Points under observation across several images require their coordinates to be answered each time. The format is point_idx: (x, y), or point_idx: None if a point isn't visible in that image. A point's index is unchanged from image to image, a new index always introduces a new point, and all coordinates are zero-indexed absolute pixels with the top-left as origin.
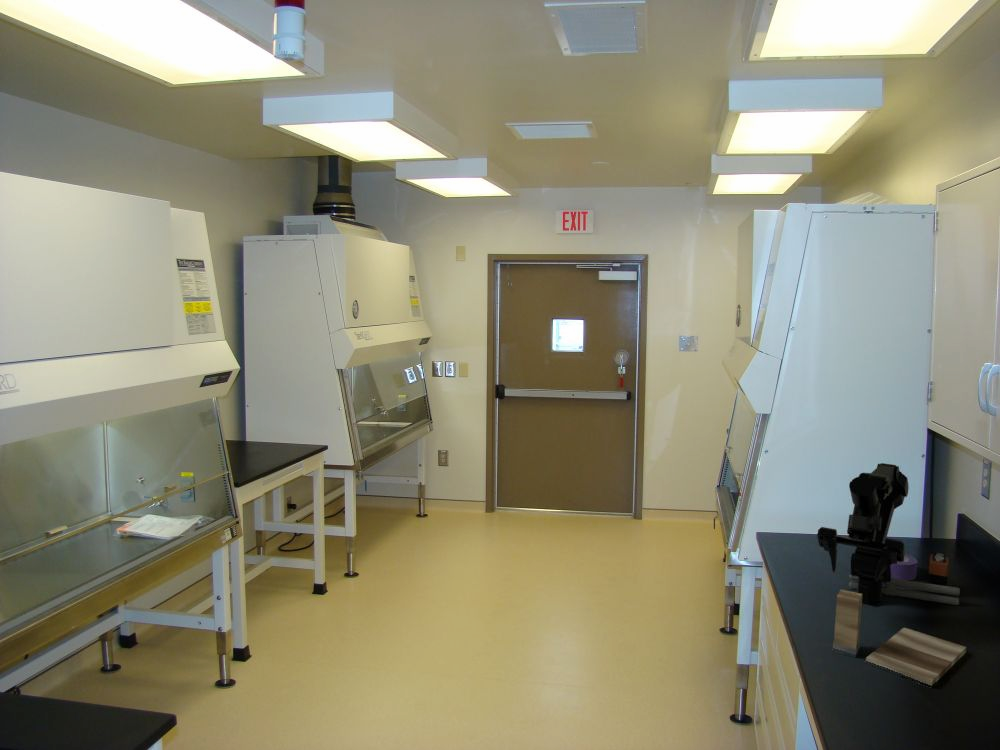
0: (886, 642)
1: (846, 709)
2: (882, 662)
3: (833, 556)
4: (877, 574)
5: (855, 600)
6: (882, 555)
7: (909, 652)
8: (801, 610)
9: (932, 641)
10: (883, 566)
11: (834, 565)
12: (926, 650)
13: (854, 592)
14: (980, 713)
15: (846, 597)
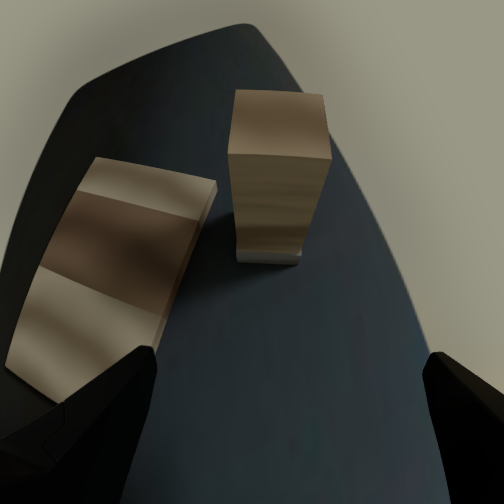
0: (165, 299)
1: (240, 58)
2: (180, 176)
3: (497, 405)
4: (130, 361)
5: (250, 92)
6: (24, 467)
7: (113, 264)
8: (418, 436)
9: (58, 368)
10: (64, 404)
11: (449, 368)
12: (75, 301)
13: (264, 153)
14: (58, 136)
15: (287, 96)
